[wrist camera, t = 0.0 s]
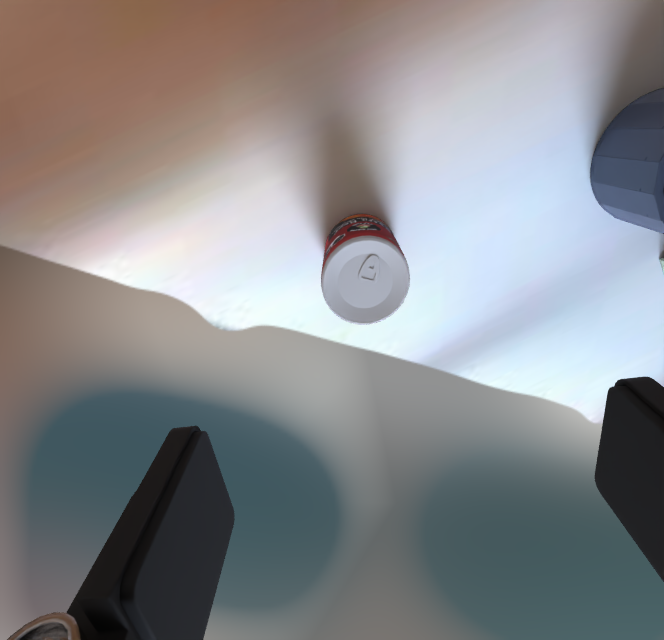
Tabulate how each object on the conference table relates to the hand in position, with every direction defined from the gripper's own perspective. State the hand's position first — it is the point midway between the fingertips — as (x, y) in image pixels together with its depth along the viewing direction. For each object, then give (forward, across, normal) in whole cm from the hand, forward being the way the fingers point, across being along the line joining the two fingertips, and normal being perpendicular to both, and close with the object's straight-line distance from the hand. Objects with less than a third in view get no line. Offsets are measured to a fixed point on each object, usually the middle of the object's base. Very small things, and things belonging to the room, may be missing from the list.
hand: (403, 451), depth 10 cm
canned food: (+37, 0, +5) cm, 37 cm away
